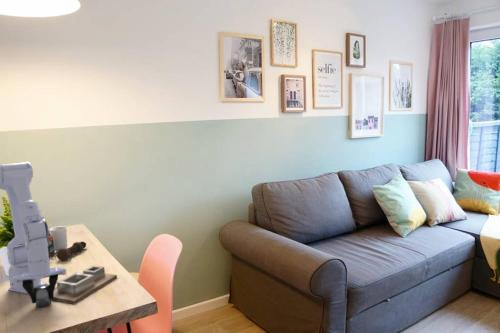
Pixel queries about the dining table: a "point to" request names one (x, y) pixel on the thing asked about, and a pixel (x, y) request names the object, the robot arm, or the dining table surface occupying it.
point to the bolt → (70, 251)
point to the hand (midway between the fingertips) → (43, 299)
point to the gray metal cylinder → (42, 296)
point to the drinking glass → (59, 237)
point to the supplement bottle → (50, 245)
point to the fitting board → (81, 284)
